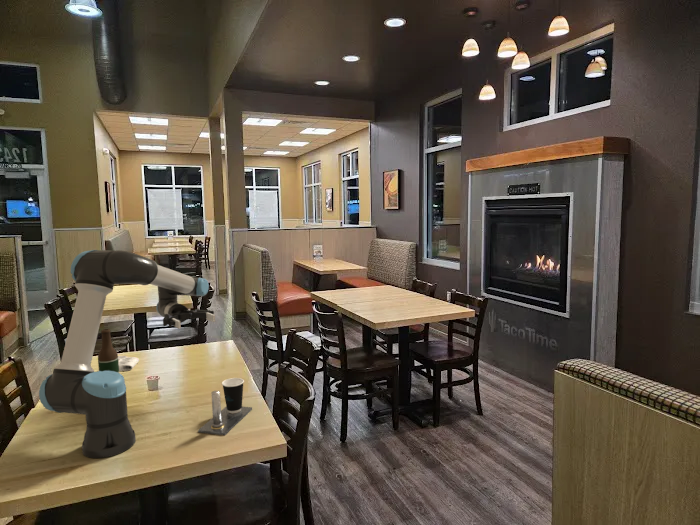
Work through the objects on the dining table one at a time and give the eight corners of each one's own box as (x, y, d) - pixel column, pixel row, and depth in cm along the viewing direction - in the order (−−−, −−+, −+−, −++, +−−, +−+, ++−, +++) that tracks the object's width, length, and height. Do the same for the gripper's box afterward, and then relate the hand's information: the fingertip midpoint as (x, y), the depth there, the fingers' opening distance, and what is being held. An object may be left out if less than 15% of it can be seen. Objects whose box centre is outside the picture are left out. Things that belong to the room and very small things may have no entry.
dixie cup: (246, 404, 173) (244, 376, 172) (245, 414, 166) (243, 384, 164) (224, 407, 172) (222, 378, 171) (222, 416, 164) (220, 386, 163)
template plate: (224, 435, 152) (224, 432, 152) (198, 432, 155) (198, 429, 155) (252, 409, 171) (252, 407, 171) (228, 407, 174) (227, 404, 174)
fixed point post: (219, 428, 155) (217, 394, 154) (210, 427, 156) (208, 393, 154) (225, 423, 158) (223, 390, 157) (215, 422, 159) (213, 389, 158)
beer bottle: (119, 385, 198) (114, 330, 195) (98, 387, 195) (94, 332, 192) (120, 378, 205) (116, 326, 202) (101, 381, 202) (96, 328, 199)
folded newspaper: (130, 373, 213) (96, 376, 210) (141, 360, 230) (109, 363, 228) (129, 366, 212) (95, 368, 210) (140, 354, 230) (109, 356, 228)
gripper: (206, 316, 200) (228, 325, 184) (146, 326, 184) (164, 337, 167) (205, 299, 199) (227, 306, 183) (144, 308, 183) (163, 317, 167)
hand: (197, 321), depth 175 cm, fingers open, 13 cm apart
